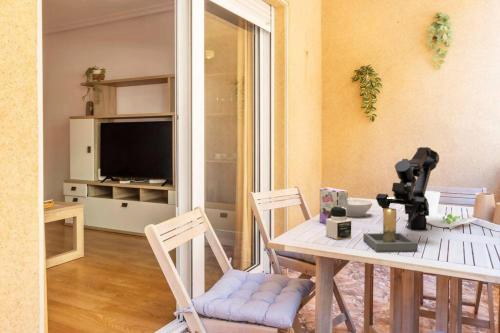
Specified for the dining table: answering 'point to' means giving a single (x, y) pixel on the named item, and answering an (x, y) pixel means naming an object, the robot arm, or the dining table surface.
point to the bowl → (357, 207)
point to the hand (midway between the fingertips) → (396, 219)
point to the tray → (400, 246)
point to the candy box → (331, 201)
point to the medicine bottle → (338, 224)
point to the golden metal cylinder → (389, 225)
